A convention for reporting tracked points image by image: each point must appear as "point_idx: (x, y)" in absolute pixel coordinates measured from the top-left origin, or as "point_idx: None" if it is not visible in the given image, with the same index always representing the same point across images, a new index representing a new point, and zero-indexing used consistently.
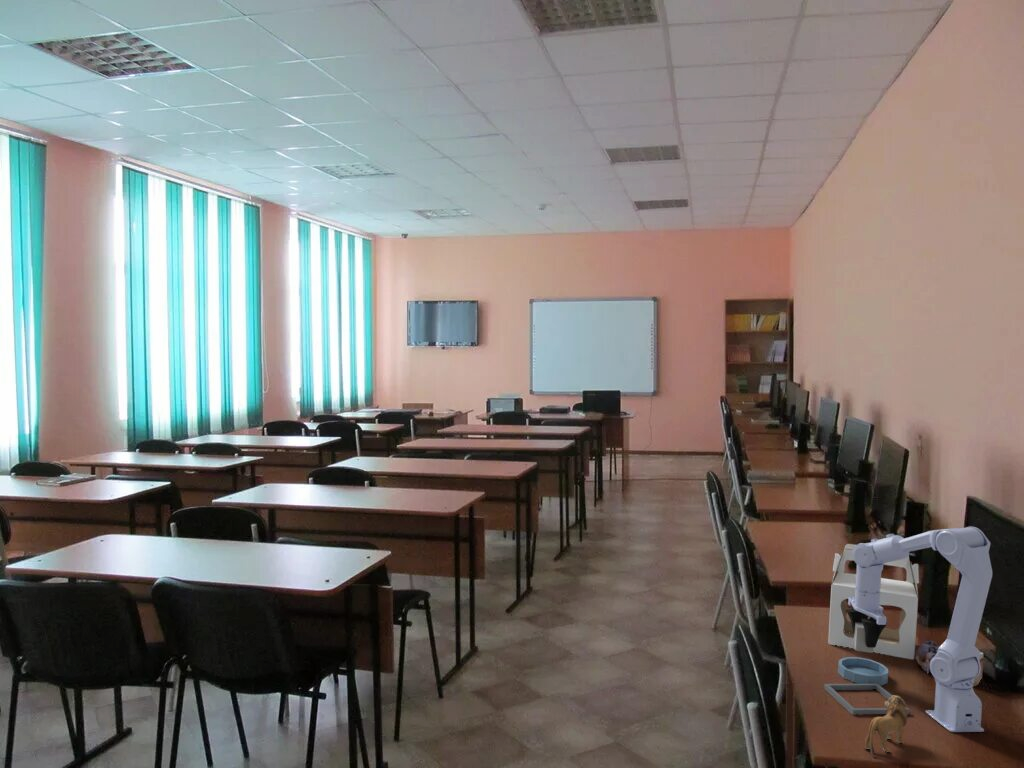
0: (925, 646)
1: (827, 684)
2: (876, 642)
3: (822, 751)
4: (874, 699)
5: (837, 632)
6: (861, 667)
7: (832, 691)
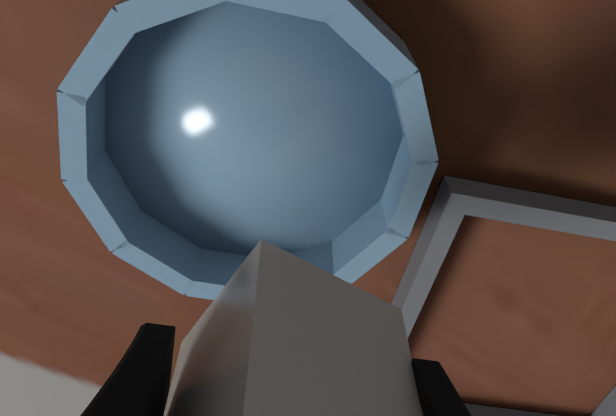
0: None
1: None
2: (466, 413)
3: None
4: (541, 277)
5: None
6: (146, 75)
7: None
